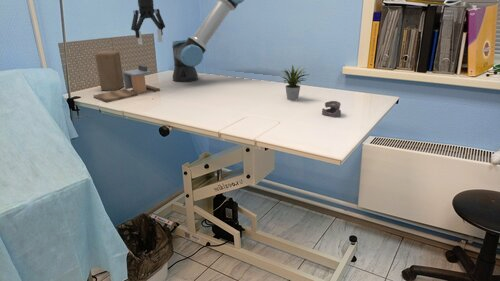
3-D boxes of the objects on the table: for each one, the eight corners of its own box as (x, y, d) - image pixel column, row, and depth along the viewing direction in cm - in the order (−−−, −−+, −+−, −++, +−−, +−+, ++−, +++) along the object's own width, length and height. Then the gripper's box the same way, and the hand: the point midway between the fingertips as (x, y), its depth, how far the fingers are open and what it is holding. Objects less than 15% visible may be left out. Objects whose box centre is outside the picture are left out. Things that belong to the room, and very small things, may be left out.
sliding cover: (141, 85, 200) (139, 64, 195) (153, 88, 192) (151, 66, 187) (125, 88, 193) (121, 66, 188) (136, 92, 185) (133, 69, 181)
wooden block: (118, 90, 196) (112, 53, 188) (100, 90, 196) (93, 53, 188) (125, 86, 205) (119, 50, 197) (107, 86, 205) (101, 50, 198)
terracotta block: (141, 89, 196) (139, 73, 193) (146, 91, 193) (144, 74, 190) (133, 91, 193) (130, 74, 189) (138, 93, 190) (135, 76, 186)
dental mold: (345, 114, 150) (346, 103, 148) (337, 118, 146) (338, 106, 144) (328, 111, 155) (329, 99, 153) (320, 115, 150) (320, 103, 149)
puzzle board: (145, 86, 203) (145, 84, 202) (159, 90, 194) (159, 88, 193) (93, 97, 183) (93, 95, 182) (106, 102, 174) (106, 100, 173)
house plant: (294, 105, 163) (295, 69, 157) (271, 100, 172) (271, 65, 166) (312, 99, 173) (314, 64, 167) (289, 94, 182) (290, 61, 176)
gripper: (161, -2, 193) (165, 40, 201) (119, -1, 177) (126, 45, 185) (169, -2, 188) (173, 41, 196) (127, -1, 172) (133, 46, 180)
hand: (150, 43), depth 190 cm, fingers open, 11 cm apart
